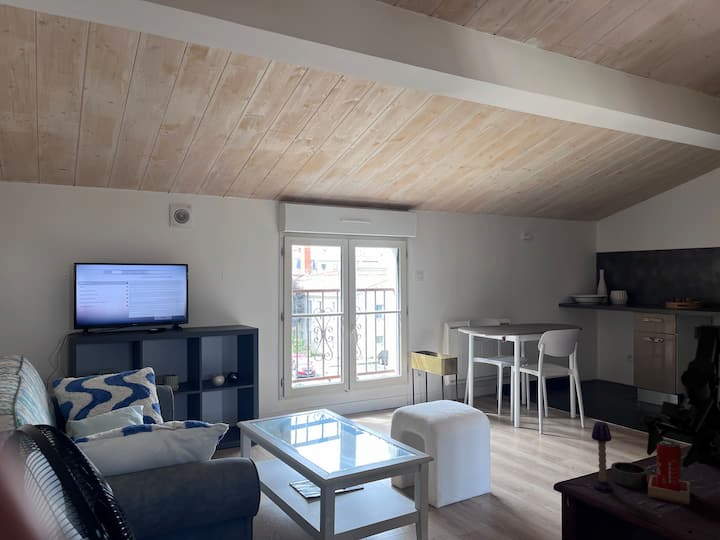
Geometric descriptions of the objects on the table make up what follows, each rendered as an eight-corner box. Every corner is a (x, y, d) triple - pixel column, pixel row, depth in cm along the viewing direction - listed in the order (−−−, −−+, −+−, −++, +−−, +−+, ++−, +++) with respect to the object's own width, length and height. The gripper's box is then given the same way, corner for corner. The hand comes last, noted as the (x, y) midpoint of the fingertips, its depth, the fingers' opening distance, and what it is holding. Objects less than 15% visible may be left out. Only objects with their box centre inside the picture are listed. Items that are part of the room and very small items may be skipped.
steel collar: (613, 472, 149) (613, 460, 149) (648, 479, 145) (648, 465, 145) (609, 483, 142) (609, 469, 142) (646, 490, 138) (646, 476, 138)
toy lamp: (604, 494, 135) (604, 426, 135) (587, 487, 139) (587, 422, 139) (615, 489, 138) (615, 423, 138) (598, 483, 142) (599, 419, 142)
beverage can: (674, 497, 132) (674, 447, 132) (652, 490, 136) (652, 442, 136) (684, 492, 135) (684, 443, 135) (663, 485, 139) (663, 438, 139)
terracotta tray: (650, 484, 141) (650, 474, 141) (689, 491, 137) (689, 481, 137) (647, 496, 134) (647, 486, 134) (689, 504, 129) (689, 494, 129)
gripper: (645, 382, 145) (616, 429, 140) (718, 397, 128) (688, 452, 124) (664, 408, 149) (637, 455, 144) (737, 427, 132) (709, 480, 127)
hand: (665, 460), depth 134 cm, fingers open, 9 cm apart
